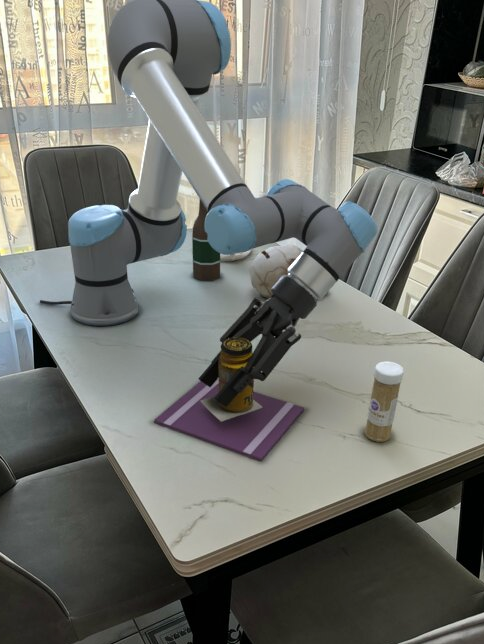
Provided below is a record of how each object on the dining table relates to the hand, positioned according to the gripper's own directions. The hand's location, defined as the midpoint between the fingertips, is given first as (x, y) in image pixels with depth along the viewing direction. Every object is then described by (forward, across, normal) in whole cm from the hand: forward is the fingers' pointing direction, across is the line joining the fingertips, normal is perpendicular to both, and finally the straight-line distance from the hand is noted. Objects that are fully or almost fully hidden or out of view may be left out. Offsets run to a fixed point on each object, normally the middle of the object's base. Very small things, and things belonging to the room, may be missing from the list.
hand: (212, 392), depth 102 cm
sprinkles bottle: (-13, -16, -22) cm, 29 cm away
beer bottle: (-14, +62, -22) cm, 68 cm away
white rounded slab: (-22, +77, -31) cm, 86 cm away
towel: (+2, 0, -7) cm, 7 cm away
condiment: (0, 0, -5) cm, 5 cm away
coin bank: (-24, +43, -33) cm, 60 cm away
